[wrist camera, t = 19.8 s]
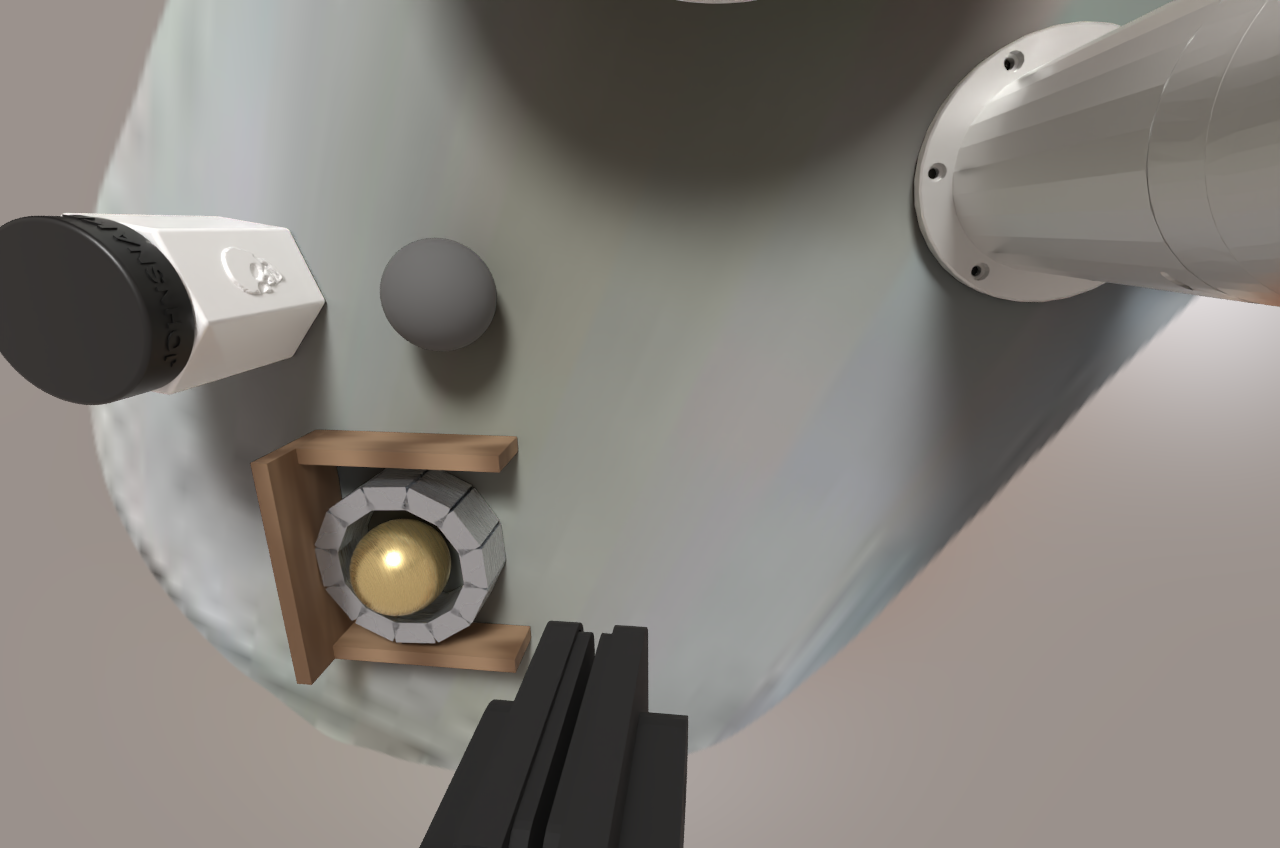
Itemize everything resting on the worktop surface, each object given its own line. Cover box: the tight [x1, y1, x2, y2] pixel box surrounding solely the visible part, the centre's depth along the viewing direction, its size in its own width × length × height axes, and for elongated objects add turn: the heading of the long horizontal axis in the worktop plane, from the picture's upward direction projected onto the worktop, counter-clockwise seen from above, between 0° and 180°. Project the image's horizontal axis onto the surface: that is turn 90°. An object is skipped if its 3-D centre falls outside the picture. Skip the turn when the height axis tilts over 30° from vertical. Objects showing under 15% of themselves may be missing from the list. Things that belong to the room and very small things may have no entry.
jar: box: [0, 213, 325, 405], centre depth 32 cm, size 9×8×12 cm
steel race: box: [315, 468, 506, 643], centre depth 40 cm, size 11×11×4 cm
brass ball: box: [349, 519, 451, 616], centre depth 39 cm, size 6×6×6 cm
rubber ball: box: [380, 238, 497, 351], centre depth 33 cm, size 6×6×6 cm
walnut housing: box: [250, 430, 531, 685], centre depth 39 cm, size 14×15×6 cm
